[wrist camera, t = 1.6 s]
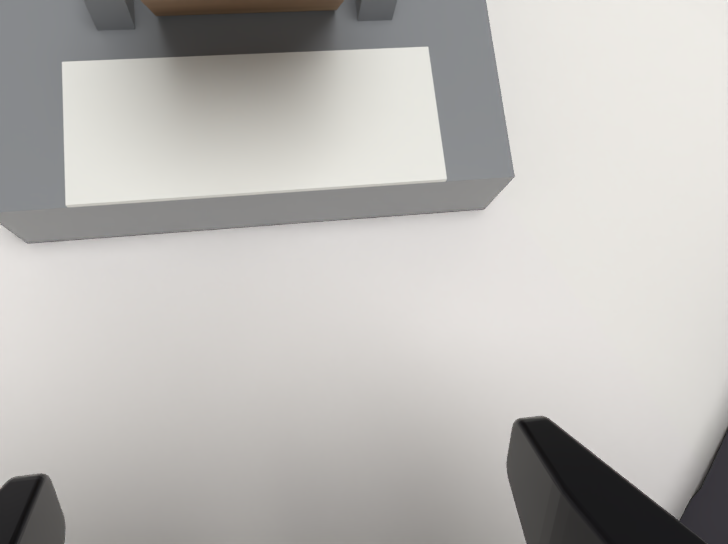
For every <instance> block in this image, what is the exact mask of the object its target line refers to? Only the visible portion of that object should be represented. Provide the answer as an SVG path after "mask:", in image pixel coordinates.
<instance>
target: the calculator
mask: <svg viewBox="0 0 728 544" xmlns="http://www.w3.org/2000/svg"><path fill="white" fill-rule="evenodd" d="M680 522H681V523H682V524H684V525H685V526H686V527H687V528H689V529H690V530H691V531H692V532H694V533H695V534H696V535H698V536H699V537H700V538H701V539H703V540H704V541H705V542H706V543H708V544H728V431H727V433H726V436H725V438H724V440H723V442H722V444H721V446H720V449H719V451H718V453H717V455H716V457H715V459H714V462H713V464H712V466H711V468H710V470H709V472H708V474H707V477H706V479H705V481H704V483H703V485H702V487H701V489H700V490H699V491H698V492H697V493H696V494H695V495H694V496H693V497H692V499H691V500H690V501H689V503H688V505H687V507H686V509H685V511H684V513H683V515H682V517H681V519H680Z"/></svg>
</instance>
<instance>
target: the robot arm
mask: <svg viewBox="0 0 728 544" xmlns="http://www.w3.org/2000/svg"><path fill="white" fill-rule="evenodd" d="M507 474H508V479H509V483H510V486H511V490H512V494H513V497H514V501H515V504H516V508H517V511H518V515H519V518H520V522H521V525H522V529H523V533H524V536H525V540H526V543H527V544H708V543H706V542H705V541H704V540H703V539H701V538H700V537H699V536H698V535H696V534H695V533H694V532H692V531H691V530H690V529H689V528H687V527H686V526H685V525H684V524H682V523H681V522H680V521H678V520H677V519H676V518H675V517H673V516H672V515H671V514H670V513H668V512H667V511H666V510H664V509H663V508H662V507H661V506H659V505H658V504H657V503H656V502H654V501H653V500H652V499H650V498H649V497H648V496H647V495H645V494H644V493H643V492H642V491H640V490H639V489H638V488H637V487H635V486H634V485H633V484H631V483H630V482H629V481H628V480H626V479H625V478H624V477H623V476H621V475H620V474H619V473H617V472H616V471H615V470H614V469H612V468H611V467H610V466H609V465H607V464H606V463H605V462H603V461H602V460H601V459H600V458H598V457H597V456H596V455H595V454H593V453H592V452H591V451H590V450H588V449H587V448H586V447H584V446H583V445H582V444H581V443H579V442H578V441H577V440H576V439H574V438H573V437H572V436H570V435H569V434H568V433H567V432H565V431H564V430H563V429H562V428H560V427H559V426H558V425H556V424H555V423H554V422H553V421H551V420H550V419H549V418H547V417H544V416H535V417H527V418H519V419H517V420H516V421H515V422H514V423H513V427H512V432H511V438H510V444H509V450H508V456H507ZM64 541H65V520H64V515H63V512H62V509H61V507H60V504H59V501H58V498H57V495H56V492H55V489H54V487H53V484H52V481H51V479H50V478H49V476H48V475H46V474H33V475H24V476H16V477H13V478H11V479H10V480H8V481H7V482H6V483H5V484H4V485H3V486H2V487H1V488H0V544H64Z"/></svg>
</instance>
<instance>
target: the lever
mask: <svg viewBox="0 0 728 544" xmlns="http://www.w3.org/2000/svg"><path fill="white" fill-rule="evenodd" d="M141 1H142V2H143V3H144V4H145V5H146V6H147V7H148V8H149V9H150V11H151V12H152V13H153V14H154V15H155V16H178V15H208V14H238V13H268V12H298V11H328V10H337V9H338V8H339V6H340V5H341V4H342V3H343V1H344V0H141Z"/></svg>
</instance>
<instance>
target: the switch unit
mask: <svg viewBox="0 0 728 544" xmlns="http://www.w3.org/2000/svg"><path fill="white" fill-rule="evenodd" d="M514 177H515V176H514V170H513V164H512V158H511V152H510V146H509V140H508V134H507V127H506V121H505V115H504V109H503V103H502V97H501V91H500V85H499V79H498V72H497V66H496V60H495V54H494V48H493V42H492V36H491V30H490V23H489V17H488V11H487V5H486V0H344V1H343V3H342V4H341V5H340V6H339V8H338V9H337V10H328V11H298V12H268V13H238V14H208V15H178V16H155V15H154V14H153V13H152V12H151V11H150V9H149V8H148V7H147V6H146V5H145V4H144V3H143V2H142V1H141V0H0V224H1V225H3V226H4V227H5V228H7V229H8V230H10V231H11V232H12V233H14V234H15V235H16V236H18V237H19V238H21V239H22V240H23V241H25V242H26V243H38V242H51V241H64V240H78V239H91V238H104V237H118V236H131V235H145V234H158V233H171V232H185V231H198V230H211V229H225V228H238V227H251V226H265V225H278V224H291V223H305V222H318V221H332V220H345V219H358V218H372V217H385V216H398V215H412V214H425V213H438V212H452V211H465V210H479V209H485V208H486V207H487V206H488V205H489V204H490V202H491V201H492V200H493V199H494V198H495V197H496V196H497V195H498V194H499V193H500V192H501V191H502V190H503V189H504V188H505V187H506V185H507V184H508V183H509V182H510V181H511V180H512V179H513V178H514Z"/></svg>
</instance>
